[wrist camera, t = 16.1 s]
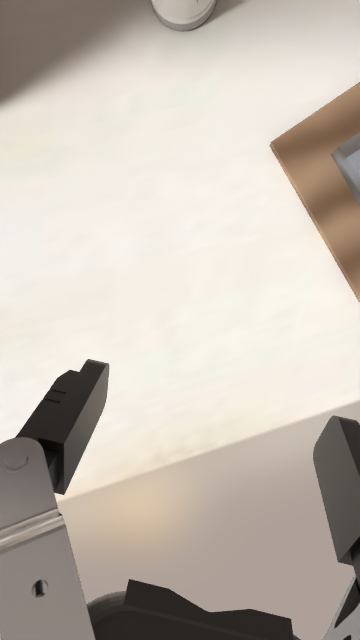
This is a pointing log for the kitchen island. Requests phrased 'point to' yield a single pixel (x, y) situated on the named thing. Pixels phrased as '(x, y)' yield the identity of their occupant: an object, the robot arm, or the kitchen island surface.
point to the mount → (329, 176)
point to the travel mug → (183, 12)
